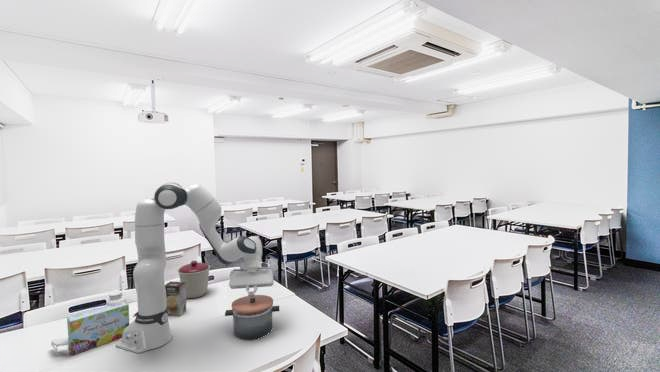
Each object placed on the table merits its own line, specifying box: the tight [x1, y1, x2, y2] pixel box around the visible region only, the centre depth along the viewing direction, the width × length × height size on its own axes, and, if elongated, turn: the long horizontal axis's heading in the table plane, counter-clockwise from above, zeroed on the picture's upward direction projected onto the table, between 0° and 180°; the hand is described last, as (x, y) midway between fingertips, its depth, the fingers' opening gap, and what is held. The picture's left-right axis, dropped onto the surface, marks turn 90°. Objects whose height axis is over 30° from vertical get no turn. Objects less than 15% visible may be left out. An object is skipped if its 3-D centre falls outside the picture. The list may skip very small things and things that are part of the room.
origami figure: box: [50, 336, 70, 356], centre depth 131 cm, size 12×8×5 cm
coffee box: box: [165, 281, 187, 317], centre depth 163 cm, size 9×6×16 cm
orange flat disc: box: [231, 294, 274, 313], centre depth 146 cm, size 19×19×3 cm
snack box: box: [66, 301, 130, 356], centre depth 136 cm, size 21×6×15 cm, turn 139°
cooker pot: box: [224, 304, 280, 341], centre depth 147 cm, size 25×19×11 cm
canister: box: [177, 260, 211, 299], centre depth 187 cm, size 18×18×21 cm
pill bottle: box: [106, 290, 127, 306], centre depth 155 cm, size 8×8×15 cm
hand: (251, 296), depth 141 cm, fingers closed
